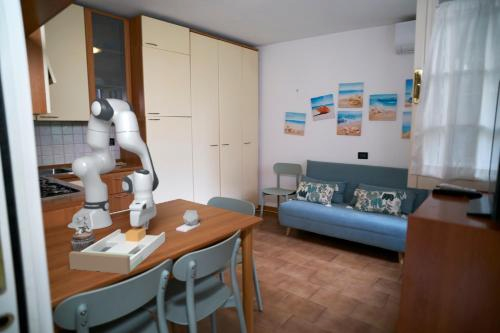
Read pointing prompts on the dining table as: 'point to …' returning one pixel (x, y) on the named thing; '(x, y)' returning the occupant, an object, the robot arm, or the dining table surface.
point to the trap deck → (115, 253)
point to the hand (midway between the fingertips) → (145, 229)
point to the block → (135, 234)
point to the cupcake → (82, 238)
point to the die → (191, 217)
